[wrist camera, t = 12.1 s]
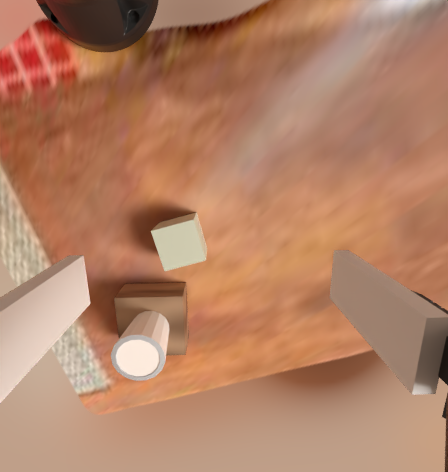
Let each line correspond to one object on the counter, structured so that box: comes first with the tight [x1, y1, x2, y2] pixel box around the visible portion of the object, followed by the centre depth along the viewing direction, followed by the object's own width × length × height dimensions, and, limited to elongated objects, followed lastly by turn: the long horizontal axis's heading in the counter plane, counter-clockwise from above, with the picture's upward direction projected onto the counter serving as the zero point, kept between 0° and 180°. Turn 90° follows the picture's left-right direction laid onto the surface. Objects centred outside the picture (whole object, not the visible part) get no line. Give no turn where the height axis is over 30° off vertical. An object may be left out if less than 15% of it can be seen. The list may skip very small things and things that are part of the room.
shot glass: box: [111, 311, 169, 380], centre depth 38 cm, size 7×7×7 cm
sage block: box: [151, 212, 207, 271], centre depth 41 cm, size 6×6×6 cm
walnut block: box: [114, 282, 189, 355], centre depth 44 cm, size 10×10×5 cm
